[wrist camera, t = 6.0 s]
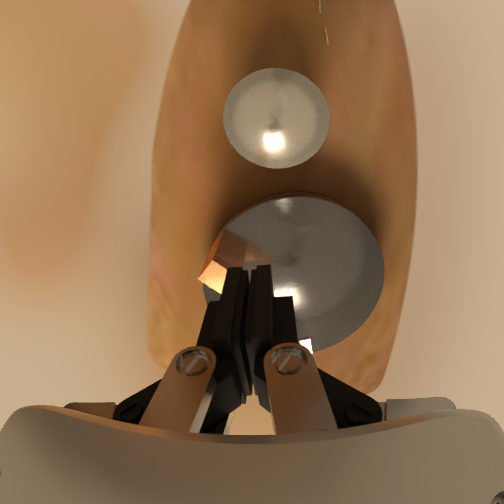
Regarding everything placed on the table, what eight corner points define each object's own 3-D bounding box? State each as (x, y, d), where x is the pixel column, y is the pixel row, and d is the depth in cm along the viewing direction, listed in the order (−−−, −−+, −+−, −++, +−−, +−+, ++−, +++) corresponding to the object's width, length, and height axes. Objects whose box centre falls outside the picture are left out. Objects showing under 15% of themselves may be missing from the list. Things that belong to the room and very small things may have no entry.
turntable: (177, 288, 25) (153, 339, 19) (281, 151, 19) (288, 163, 13) (299, 360, 28) (305, 413, 22) (405, 263, 23) (441, 307, 16)
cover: (231, 88, 19) (217, 73, 13) (309, 83, 18) (324, 66, 13) (239, 161, 21) (229, 172, 16) (315, 156, 20) (332, 166, 15)
